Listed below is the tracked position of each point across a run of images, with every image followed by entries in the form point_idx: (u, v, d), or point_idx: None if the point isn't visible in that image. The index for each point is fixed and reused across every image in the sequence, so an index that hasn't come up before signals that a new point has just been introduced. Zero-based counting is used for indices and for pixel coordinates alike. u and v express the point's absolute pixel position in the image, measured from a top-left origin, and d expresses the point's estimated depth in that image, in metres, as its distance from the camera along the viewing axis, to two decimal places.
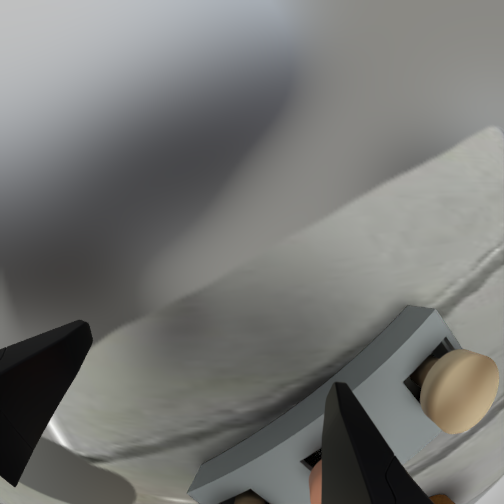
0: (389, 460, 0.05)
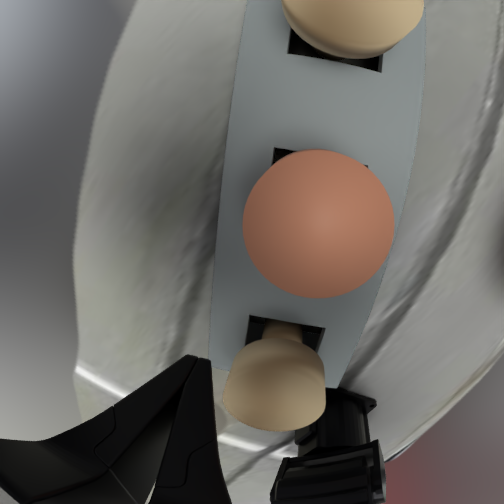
0: (204, 442, 0.05)
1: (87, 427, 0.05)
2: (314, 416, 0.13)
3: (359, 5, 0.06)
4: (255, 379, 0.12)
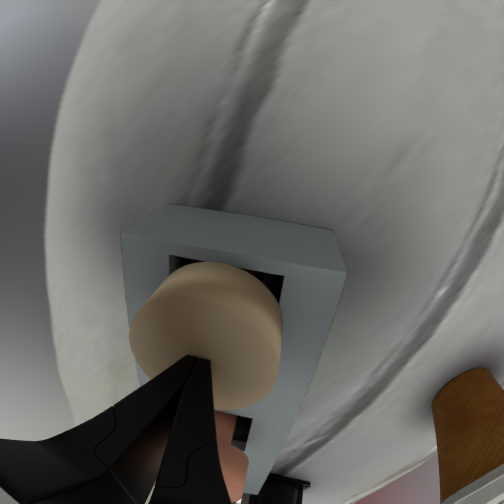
0: (204, 442, 0.05)
1: (87, 427, 0.05)
2: None
3: None
4: None
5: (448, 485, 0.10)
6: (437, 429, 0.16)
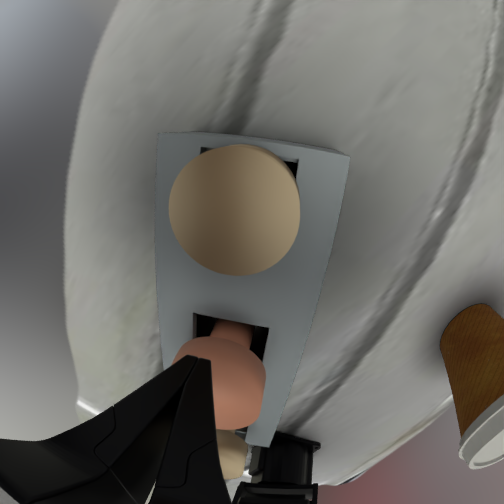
0: (204, 442, 0.05)
1: (87, 427, 0.05)
2: (237, 475, 0.17)
3: (234, 243, 0.11)
4: None
5: (468, 413, 0.12)
6: (448, 364, 0.18)
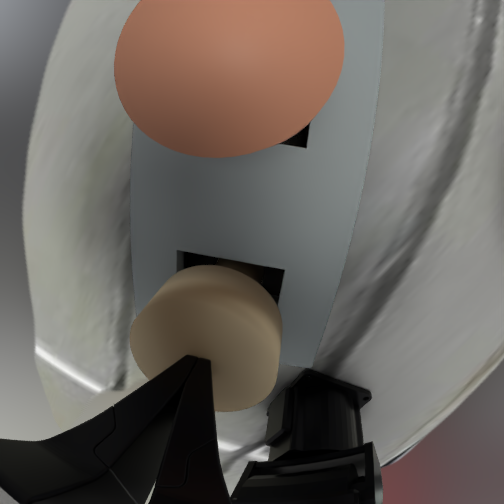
0: (204, 442, 0.05)
1: (87, 427, 0.05)
2: (263, 389, 0.09)
3: None
4: (163, 316, 0.08)
5: None
6: None
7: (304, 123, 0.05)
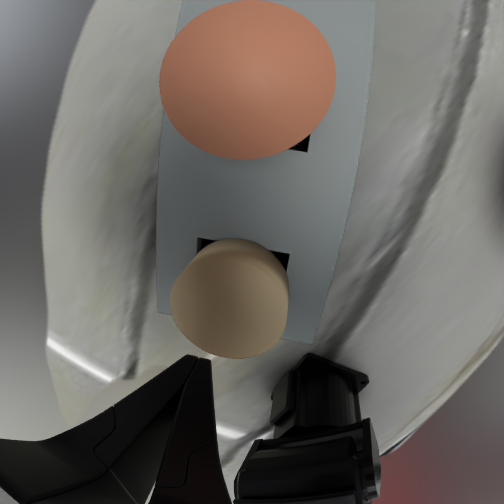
0: (204, 442, 0.05)
1: (87, 427, 0.05)
2: (275, 333, 0.12)
3: None
4: (201, 272, 0.12)
5: None
6: None
7: (306, 135, 0.07)
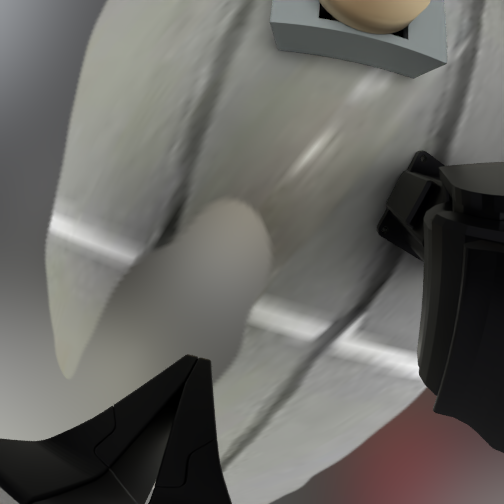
0: (204, 442, 0.05)
1: (87, 427, 0.05)
2: None
3: None
4: None
5: None
6: None
7: None
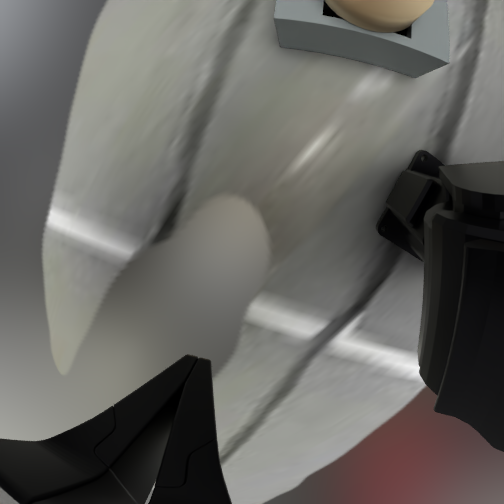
0: (204, 442, 0.05)
1: (87, 427, 0.05)
2: None
3: None
4: None
5: None
6: None
7: None
